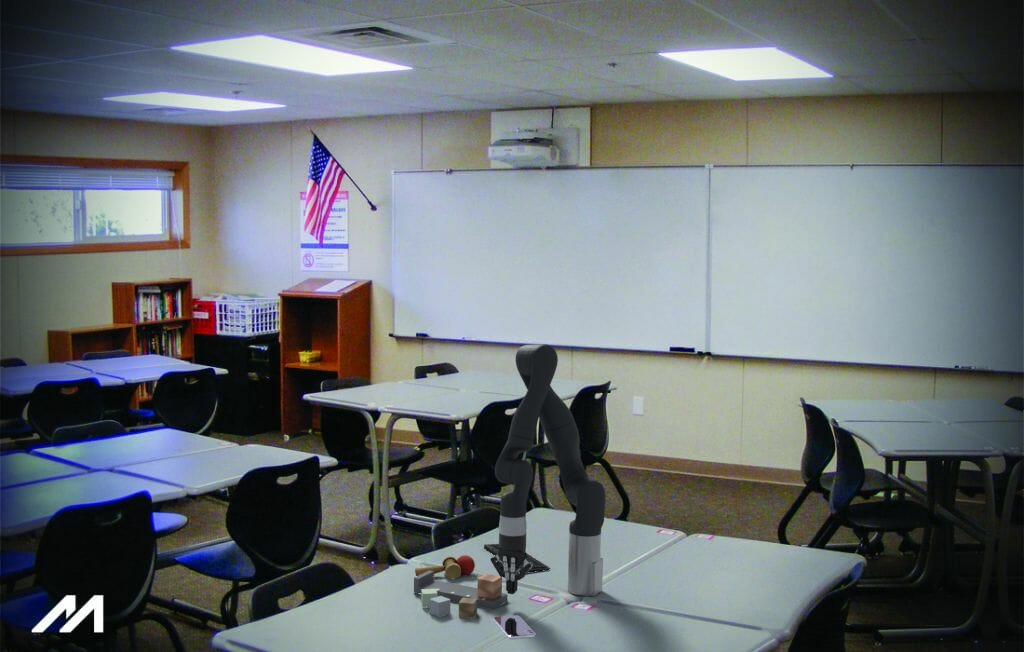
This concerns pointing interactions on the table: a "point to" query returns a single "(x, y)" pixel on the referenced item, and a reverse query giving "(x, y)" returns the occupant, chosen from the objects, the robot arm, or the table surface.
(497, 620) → the mobile phone
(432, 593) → the cube sage
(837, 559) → the table surface
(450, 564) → the kendama
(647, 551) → the table surface
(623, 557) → the table surface
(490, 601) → the rail board
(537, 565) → the keyboard
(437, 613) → the cube slate
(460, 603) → the cube walnut
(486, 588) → the slider
